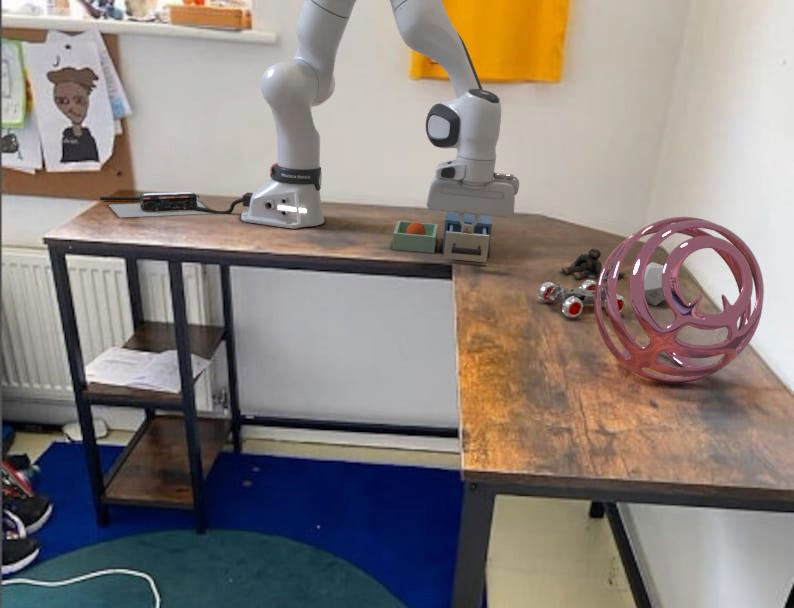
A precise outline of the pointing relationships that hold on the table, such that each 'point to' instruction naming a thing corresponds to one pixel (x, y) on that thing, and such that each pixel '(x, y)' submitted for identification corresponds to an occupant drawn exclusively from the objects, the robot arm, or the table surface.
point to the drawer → (466, 244)
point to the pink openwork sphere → (680, 302)
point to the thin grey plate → (160, 205)
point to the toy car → (574, 297)
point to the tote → (415, 238)
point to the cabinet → (468, 219)
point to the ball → (416, 229)
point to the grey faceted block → (653, 283)
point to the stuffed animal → (588, 266)
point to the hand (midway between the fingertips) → (467, 232)
